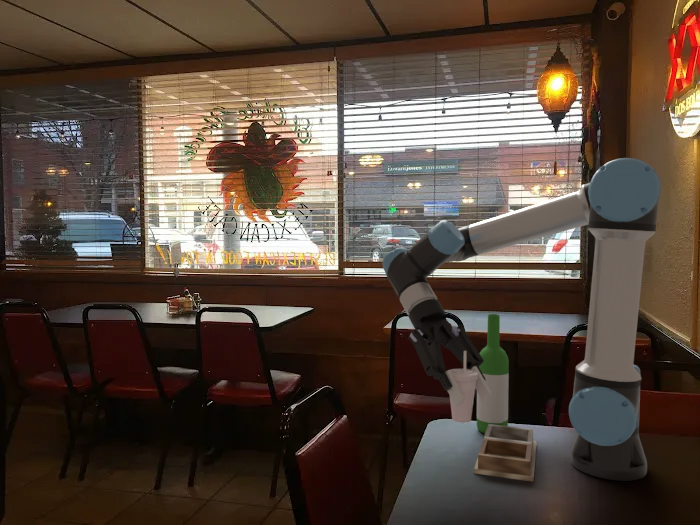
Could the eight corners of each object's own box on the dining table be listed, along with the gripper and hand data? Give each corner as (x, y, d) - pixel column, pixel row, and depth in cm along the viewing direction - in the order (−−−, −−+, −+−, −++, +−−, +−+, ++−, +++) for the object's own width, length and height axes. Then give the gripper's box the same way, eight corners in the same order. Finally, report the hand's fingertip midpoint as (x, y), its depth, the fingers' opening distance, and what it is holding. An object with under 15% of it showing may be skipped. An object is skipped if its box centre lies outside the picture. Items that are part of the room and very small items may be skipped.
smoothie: (478, 425, 112) (478, 354, 111) (444, 423, 113) (445, 353, 112) (477, 415, 118) (478, 348, 117) (446, 413, 119) (446, 347, 119)
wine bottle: (513, 431, 146) (515, 315, 144) (496, 438, 141) (498, 318, 139) (487, 423, 152) (489, 311, 150) (470, 430, 146) (471, 314, 145)
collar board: (536, 445, 136) (536, 429, 136) (533, 481, 117) (533, 462, 116) (485, 439, 140) (485, 423, 140) (473, 473, 121) (474, 454, 120)
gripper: (449, 315, 133) (499, 402, 119) (379, 322, 123) (426, 417, 110) (464, 294, 128) (519, 383, 115) (393, 300, 118) (444, 397, 105)
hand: (474, 399), depth 112 cm, fingers closed on smoothie, 6 cm apart
